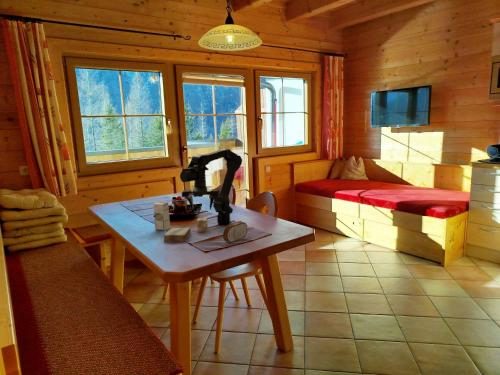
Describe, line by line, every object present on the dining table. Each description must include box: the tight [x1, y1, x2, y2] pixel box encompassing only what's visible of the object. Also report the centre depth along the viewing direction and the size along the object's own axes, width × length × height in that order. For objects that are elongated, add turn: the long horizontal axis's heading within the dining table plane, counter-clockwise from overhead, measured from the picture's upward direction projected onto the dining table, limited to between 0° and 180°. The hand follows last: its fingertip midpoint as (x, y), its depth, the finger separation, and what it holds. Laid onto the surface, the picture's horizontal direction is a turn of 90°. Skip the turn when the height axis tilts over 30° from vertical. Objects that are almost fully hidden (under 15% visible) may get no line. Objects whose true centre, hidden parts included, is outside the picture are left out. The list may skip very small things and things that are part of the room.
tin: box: [222, 220, 248, 244], centre depth 162 cm, size 15×3×8 cm, turn 141°
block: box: [196, 217, 209, 233], centre depth 178 cm, size 4×4×6 cm
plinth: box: [163, 227, 192, 243], centre depth 167 cm, size 10×12×3 cm
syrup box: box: [153, 201, 171, 231], centre depth 182 cm, size 6×6×14 cm
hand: (201, 209), depth 177 cm, fingers open, 9 cm apart
